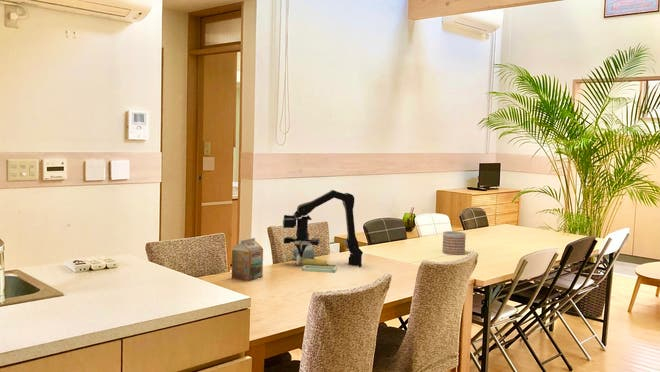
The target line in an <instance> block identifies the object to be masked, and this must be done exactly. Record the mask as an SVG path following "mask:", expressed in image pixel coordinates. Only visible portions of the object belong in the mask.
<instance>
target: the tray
mask: <svg viewBox="0 0 660 372" xmlns="http://www.w3.org/2000/svg"><path fill="white" fill-rule="evenodd" d="M337 270H338V267H337V266H335V267H328V266H311V265H304V266H303V267H301V271H302V272H314V273H329V274H330V273H331V274H333V273H336V271H337Z"/></svg>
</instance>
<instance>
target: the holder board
mask: <svg viewBox="0 0 660 372" xmlns="http://www.w3.org/2000/svg"><path fill="white" fill-rule="evenodd" d="M303 266H304V265H302V262H299V264H297V262H295V263H293V265H292V267H298V268H302V267H303ZM311 266H316V265H311ZM327 266H328V267H337V265H336V264H328V263H327Z"/></svg>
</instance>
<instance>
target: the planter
mask: <svg viewBox="0 0 660 372" xmlns="http://www.w3.org/2000/svg"><path fill="white" fill-rule="evenodd" d="M466 236H467V235H466V232H463V231H456V230H455V231H453V230H452V231H451V230H449V231H448V230H447V231H443V233H442V253H443V254H445V255H453V256H462V255H465V253H466Z"/></svg>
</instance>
